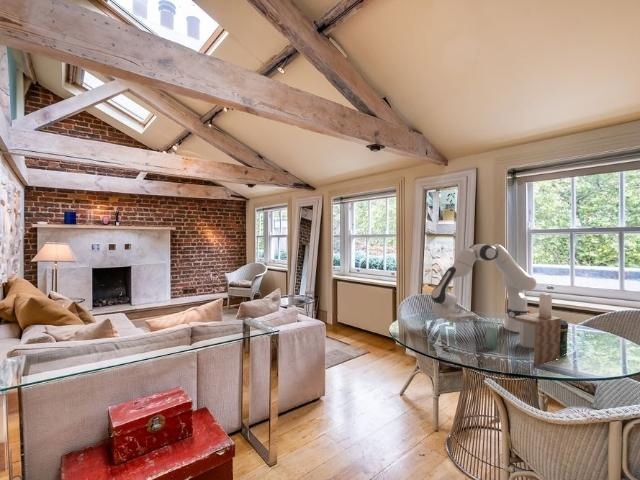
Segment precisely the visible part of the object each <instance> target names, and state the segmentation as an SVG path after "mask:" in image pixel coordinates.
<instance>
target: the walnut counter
mask: <svg viewBox="0 0 640 480" xmlns="http://www.w3.org/2000/svg"><path fill="white" fill-rule="evenodd" d="M514 320H516V321H520V322H523V323H527V324H531V325H535V345H534V348H533V349H534V350H533V365H534V364H535V365H539V366H541V365H540V364H542V365H545V364H544V363H546V364H548V363H547V362H549V363H552V362H555V361H554V360H556V359H559V360H560V356H559V352H560V329H561V320H562V318H561V317H557V316H554V315H551V318H543V317H540V316H539V312H531V313H529V314H526V315H520V316H515V319H514ZM551 361H552V362H551ZM556 361H557V360H556ZM535 365H534V366H535Z"/></svg>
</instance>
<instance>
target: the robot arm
mask: <svg viewBox="0 0 640 480" xmlns="http://www.w3.org/2000/svg"><path fill="white" fill-rule="evenodd" d="M476 261H486V262H488V261H489V262H490V261H492V262H493V264H494V265H495V266H496V268H497V269H498V270H499V272H500V273H501V274H502V276H501V281H502V284H504V286H505V289H506V294H507V309H506V314H505V319H504V323H503V325H502V327H504V329H505V330H507V331H510V332H515V333H519V334H520V321H516V320H514V319H515V316H520V315H526V314H527V313H529V314H532V311H531V310H530V309H528V298H527V296H526V295H525V293H524V292H531V291H533V290H535V289H536V287H537V281H536V278H535V277H533V276H531V275H530V274H528V273H527V272H526V271H525V270H524V269H523V268H522V267H521V266H519V264H518V263H517V262H516V261H515V260H514V258H513V257H512V256H511V254H510V253H509V252H508V250H506V248H504V247H503V246H502V245H501V244H498V243H495V244H492V245H491V244H486V243H479V244H478V243H476V244H472V245H471V246H469V247H468V248H463V249H461V251H460V252H459V254H458V255H457V257H456V259H455V261H454V262H453V265H451V266H450V267H449V268H447V270H446V271H445V273H444V274H443V276H442V277H441V279H440V281H439V282H438V284H437V285H436V287H434V289H433V290H432V291H431V295H430V296H431V300H432V301H433V302H434V304H433V305H432V307H431V311H432V314H433V315H434V316H436V317H438V318H441V319H443V320H445V319H446V320H447V321H448V322H451V323H465V324H466V323H469V321H475V322H479V317H477V314H476V313H474V312H471V311H468V310H466V309H465V308H464V309H463V308H457V307H456V305H457V302H458V299H457V298H458V297H457V296H456V295H455V294H454V293H452V292H449V291H447V289H448V287H449V286H450V285H451V283H452V281H453V280H454V279H456V278H465V277H467V276H468V275H469V274H470V273H471V271H472V269H473V267H474V264H475V262H476Z"/></svg>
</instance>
